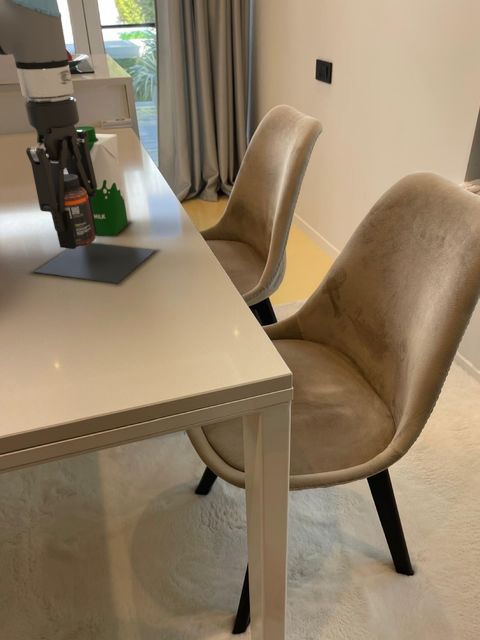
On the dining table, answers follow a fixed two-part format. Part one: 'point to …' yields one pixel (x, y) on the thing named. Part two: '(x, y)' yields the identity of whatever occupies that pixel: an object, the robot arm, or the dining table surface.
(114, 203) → the milk carton
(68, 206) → the supplement bottle
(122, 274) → the mat
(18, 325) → the dining table surface
